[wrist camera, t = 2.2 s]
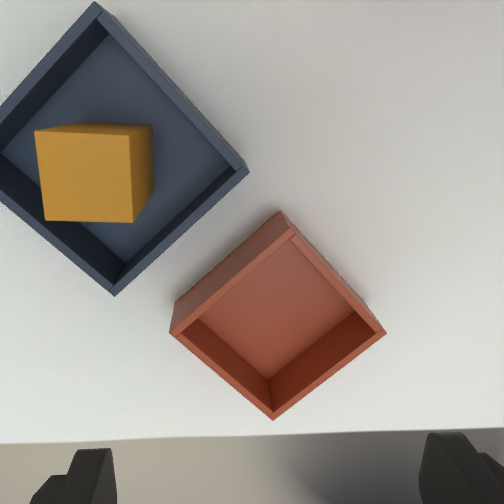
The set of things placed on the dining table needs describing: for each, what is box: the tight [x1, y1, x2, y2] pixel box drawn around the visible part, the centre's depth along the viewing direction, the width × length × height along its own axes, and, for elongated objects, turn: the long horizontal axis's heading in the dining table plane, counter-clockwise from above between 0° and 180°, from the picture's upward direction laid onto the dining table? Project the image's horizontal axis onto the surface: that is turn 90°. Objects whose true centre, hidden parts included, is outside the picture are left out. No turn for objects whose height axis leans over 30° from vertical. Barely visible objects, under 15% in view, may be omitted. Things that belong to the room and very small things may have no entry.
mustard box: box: [34, 122, 154, 223], centre depth 25 cm, size 4×4×8 cm
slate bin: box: [0, 1, 250, 297], centre depth 27 cm, size 12×12×4 cm
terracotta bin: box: [169, 210, 387, 421], centre depth 32 cm, size 11×11×4 cm
